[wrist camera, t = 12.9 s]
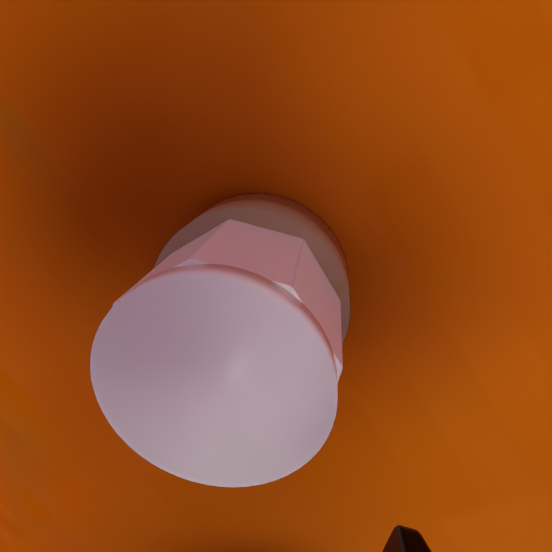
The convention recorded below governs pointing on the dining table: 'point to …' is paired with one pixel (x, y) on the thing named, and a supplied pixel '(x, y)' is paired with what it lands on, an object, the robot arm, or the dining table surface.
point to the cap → (224, 358)
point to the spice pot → (282, 219)
